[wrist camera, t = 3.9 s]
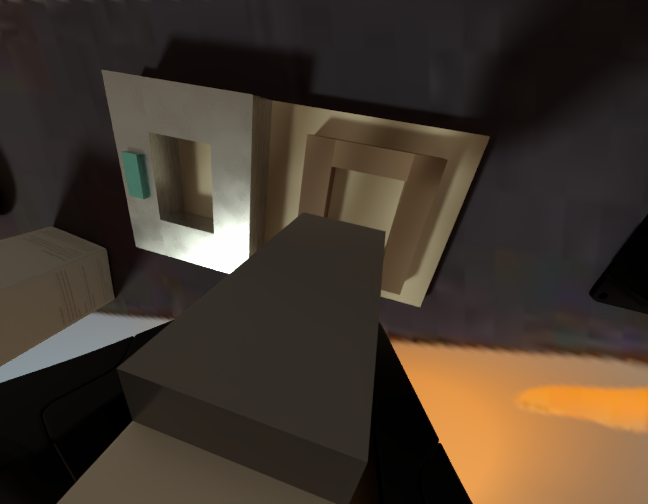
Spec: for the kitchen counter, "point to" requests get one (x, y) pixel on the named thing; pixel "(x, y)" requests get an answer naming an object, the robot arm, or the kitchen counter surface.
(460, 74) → the kitchen counter surface
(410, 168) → the brown rectangular frame
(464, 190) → the board
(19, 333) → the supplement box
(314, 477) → the plug
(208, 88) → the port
